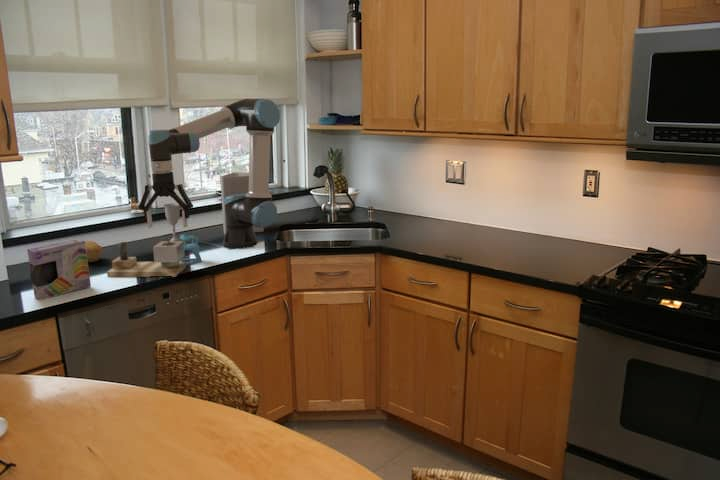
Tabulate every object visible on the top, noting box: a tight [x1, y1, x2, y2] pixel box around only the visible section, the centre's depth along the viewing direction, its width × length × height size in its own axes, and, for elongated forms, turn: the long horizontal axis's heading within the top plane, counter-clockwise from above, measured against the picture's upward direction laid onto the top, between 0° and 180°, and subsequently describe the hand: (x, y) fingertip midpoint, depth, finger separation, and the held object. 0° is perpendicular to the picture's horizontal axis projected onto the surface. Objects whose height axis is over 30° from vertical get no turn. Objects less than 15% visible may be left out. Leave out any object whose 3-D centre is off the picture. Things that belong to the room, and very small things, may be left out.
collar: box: [152, 240, 186, 262], centre depth 242 cm, size 9×9×6 cm
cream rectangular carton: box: [220, 172, 265, 235], centre depth 310 cm, size 19×15×28 cm
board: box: [106, 241, 187, 278], centre depth 242 cm, size 26×14×12 cm, turn 88°
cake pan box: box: [27, 238, 92, 301], centre depth 217 cm, size 19×5×18 cm, turn 138°
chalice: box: [163, 202, 181, 241], centre depth 286 cm, size 7×7×18 cm
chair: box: [179, 233, 203, 266], centre depth 255 cm, size 8×8×12 cm
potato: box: [85, 240, 104, 263], centre depth 258 cm, size 10×14×8 cm
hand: (167, 227), depth 240 cm, fingers open, 13 cm apart
